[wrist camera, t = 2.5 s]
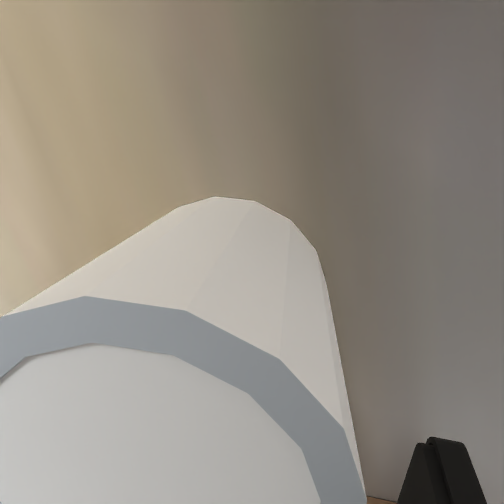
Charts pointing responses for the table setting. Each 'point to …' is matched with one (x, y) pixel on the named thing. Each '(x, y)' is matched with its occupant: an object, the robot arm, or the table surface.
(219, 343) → the white cup
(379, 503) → the walnut plinth
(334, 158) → the table surface
